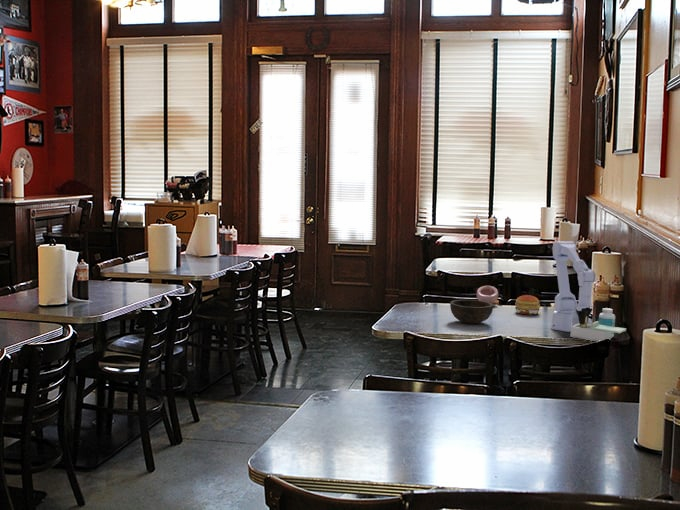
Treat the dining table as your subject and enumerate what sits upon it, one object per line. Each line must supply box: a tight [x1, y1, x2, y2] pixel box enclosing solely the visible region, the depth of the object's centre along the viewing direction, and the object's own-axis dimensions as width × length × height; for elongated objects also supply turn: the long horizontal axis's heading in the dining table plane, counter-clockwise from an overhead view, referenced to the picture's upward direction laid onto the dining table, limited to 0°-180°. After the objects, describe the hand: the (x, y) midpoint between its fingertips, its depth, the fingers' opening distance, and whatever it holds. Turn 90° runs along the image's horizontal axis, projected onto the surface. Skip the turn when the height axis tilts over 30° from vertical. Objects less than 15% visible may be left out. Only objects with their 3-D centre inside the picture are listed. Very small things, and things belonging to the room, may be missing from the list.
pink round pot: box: [476, 284, 499, 305], centre depth 480 cm, size 12×12×11 cm
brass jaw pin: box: [580, 316, 588, 328], centre depth 401 cm, size 3×3×5 cm
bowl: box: [449, 299, 494, 325], centre depth 428 cm, size 22×22×10 cm
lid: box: [590, 320, 627, 334], centre depth 394 cm, size 14×9×2 cm, turn 53°
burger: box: [514, 294, 541, 315], centre depth 458 cm, size 14×14×10 cm
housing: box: [569, 322, 612, 342], centre depth 399 cm, size 16×10×6 cm, turn 53°
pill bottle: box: [598, 307, 616, 339], centre depth 405 cm, size 8×7×14 cm
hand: (583, 323), depth 401 cm, fingers closed on brass jaw pin, 3 cm apart
